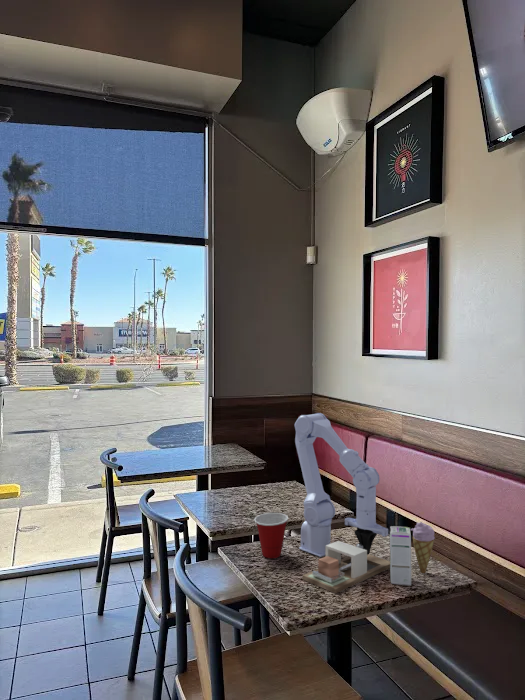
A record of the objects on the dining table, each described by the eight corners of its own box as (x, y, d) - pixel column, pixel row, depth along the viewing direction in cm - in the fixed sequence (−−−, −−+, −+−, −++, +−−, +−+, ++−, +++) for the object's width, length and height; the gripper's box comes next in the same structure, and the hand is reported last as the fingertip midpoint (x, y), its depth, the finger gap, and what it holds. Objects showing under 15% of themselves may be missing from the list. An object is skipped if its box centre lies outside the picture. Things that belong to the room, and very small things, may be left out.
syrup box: (411, 585, 148) (412, 533, 148) (389, 583, 149) (390, 531, 149) (410, 577, 154) (410, 526, 154) (389, 575, 155) (389, 525, 155)
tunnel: (325, 567, 157) (325, 545, 157) (338, 562, 161) (338, 540, 161) (354, 578, 149) (354, 555, 149) (366, 572, 154) (367, 550, 154)
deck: (302, 579, 151) (302, 574, 151) (360, 555, 170) (360, 551, 170) (335, 593, 143) (335, 588, 143) (392, 566, 161) (392, 562, 161)
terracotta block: (318, 573, 150) (318, 559, 150) (327, 569, 153) (327, 555, 153) (329, 578, 147) (329, 563, 147) (338, 574, 150) (338, 560, 150)
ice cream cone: (406, 571, 157) (406, 520, 157) (416, 565, 162) (416, 516, 162) (427, 578, 153) (428, 525, 153) (437, 572, 157) (437, 520, 157)
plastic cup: (248, 551, 172) (248, 514, 172) (279, 546, 177) (279, 510, 177) (261, 563, 162) (262, 524, 162) (293, 558, 167) (294, 520, 167)
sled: (312, 575, 150) (312, 556, 150) (352, 558, 163) (352, 540, 163) (331, 583, 146) (331, 563, 146) (371, 565, 158) (371, 546, 158)
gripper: (394, 511, 159) (393, 557, 159) (354, 501, 170) (354, 544, 170) (380, 516, 155) (380, 563, 155) (340, 505, 165) (340, 549, 165)
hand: (365, 554), depth 162 cm, fingers closed, pressing on sled
